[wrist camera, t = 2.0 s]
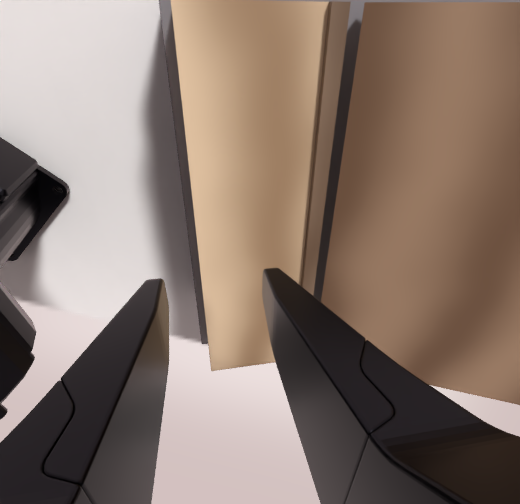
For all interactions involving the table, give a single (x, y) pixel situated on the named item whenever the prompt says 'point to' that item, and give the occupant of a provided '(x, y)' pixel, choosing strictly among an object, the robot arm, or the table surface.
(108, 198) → the table surface
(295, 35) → the oak panel
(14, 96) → the table surface
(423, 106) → the walnut plank
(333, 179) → the underlay block
